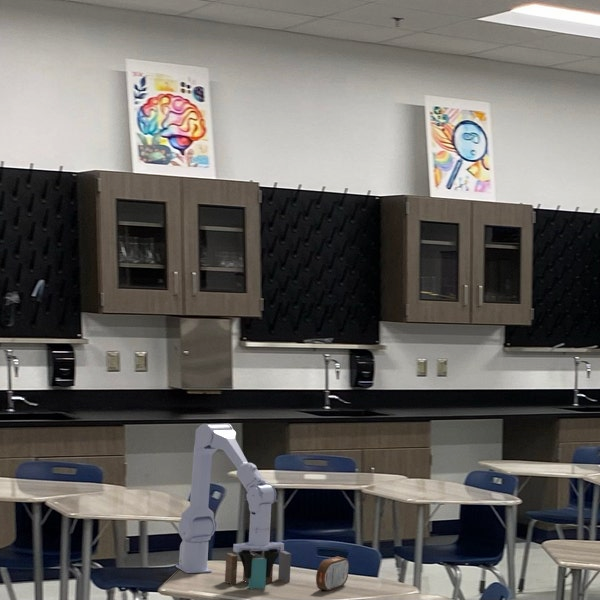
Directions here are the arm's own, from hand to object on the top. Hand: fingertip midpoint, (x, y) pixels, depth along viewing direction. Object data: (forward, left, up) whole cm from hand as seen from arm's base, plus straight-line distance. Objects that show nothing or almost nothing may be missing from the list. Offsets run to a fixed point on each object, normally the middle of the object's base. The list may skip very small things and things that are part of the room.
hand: (257, 577), depth 322 cm
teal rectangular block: (0, 0, -3) cm, 3 cm away
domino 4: (-7, +12, -3) cm, 14 cm away
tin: (+5, +21, -3) cm, 22 cm away
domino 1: (-7, -5, -3) cm, 9 cm away
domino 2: (-7, 0, -3) cm, 8 cm away
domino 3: (-7, +6, -3) cm, 10 cm away
